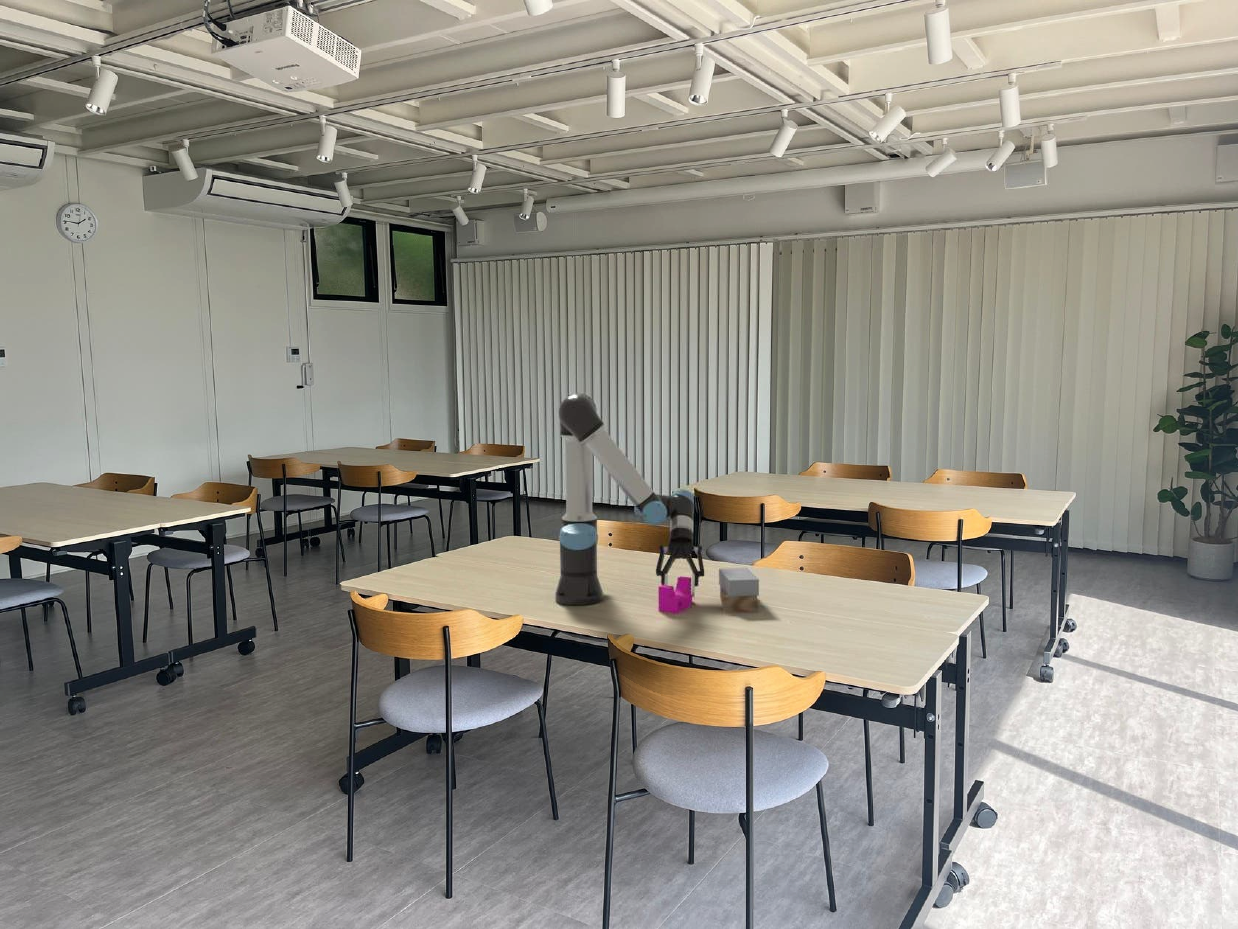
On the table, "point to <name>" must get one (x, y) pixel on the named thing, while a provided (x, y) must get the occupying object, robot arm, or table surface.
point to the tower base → (738, 603)
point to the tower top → (738, 582)
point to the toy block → (675, 596)
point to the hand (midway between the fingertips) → (679, 594)
